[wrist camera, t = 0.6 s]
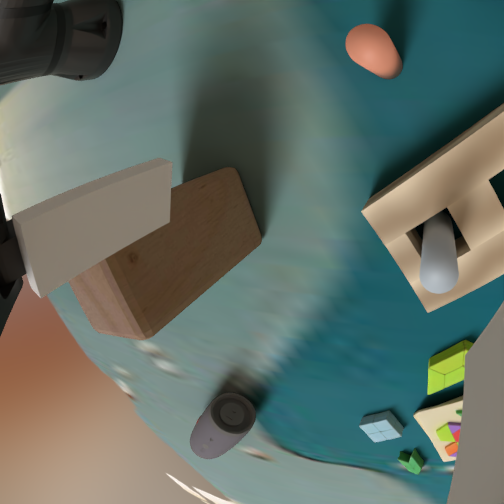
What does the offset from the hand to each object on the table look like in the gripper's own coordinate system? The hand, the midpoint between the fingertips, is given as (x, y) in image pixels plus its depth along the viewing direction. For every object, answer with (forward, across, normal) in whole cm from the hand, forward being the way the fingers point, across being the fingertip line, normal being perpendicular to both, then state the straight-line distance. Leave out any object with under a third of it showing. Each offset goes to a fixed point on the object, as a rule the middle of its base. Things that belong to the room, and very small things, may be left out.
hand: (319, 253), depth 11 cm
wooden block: (+22, -17, -13) cm, 31 cm away
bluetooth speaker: (+22, -10, -57) cm, 62 cm away
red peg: (+22, -2, +8) cm, 23 cm away
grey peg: (+22, +7, -5) cm, 23 cm away
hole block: (+22, +9, -1) cm, 24 cm away
